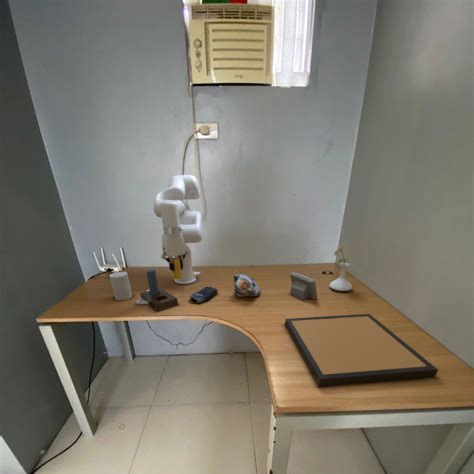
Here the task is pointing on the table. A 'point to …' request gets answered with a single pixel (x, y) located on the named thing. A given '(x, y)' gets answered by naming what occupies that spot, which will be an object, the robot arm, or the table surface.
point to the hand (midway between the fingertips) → (176, 269)
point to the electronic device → (203, 294)
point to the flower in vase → (341, 282)
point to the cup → (120, 285)
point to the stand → (159, 299)
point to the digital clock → (303, 286)
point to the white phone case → (141, 301)
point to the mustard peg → (177, 268)
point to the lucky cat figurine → (245, 286)
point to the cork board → (355, 351)
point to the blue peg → (152, 282)
